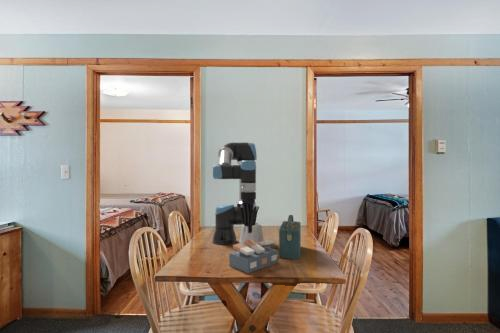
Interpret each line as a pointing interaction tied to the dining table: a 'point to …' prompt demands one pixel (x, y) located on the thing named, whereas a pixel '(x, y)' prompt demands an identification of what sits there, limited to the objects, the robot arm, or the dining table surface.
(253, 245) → the rocker mid
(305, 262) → the dining table surface
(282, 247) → the radio
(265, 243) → the rocker far
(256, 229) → the vase
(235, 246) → the rocker near
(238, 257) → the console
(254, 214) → the robot arm
